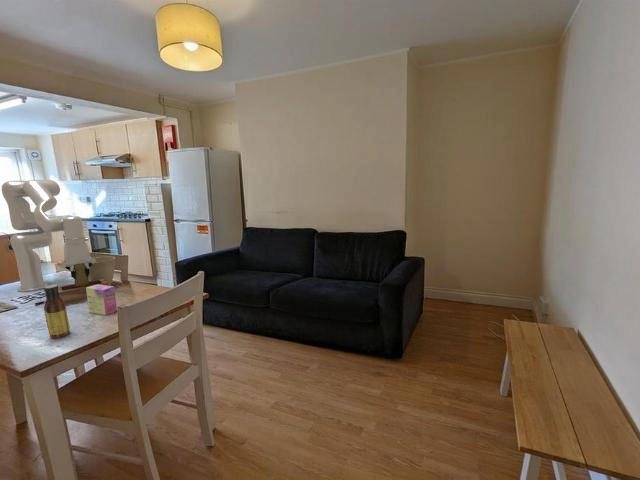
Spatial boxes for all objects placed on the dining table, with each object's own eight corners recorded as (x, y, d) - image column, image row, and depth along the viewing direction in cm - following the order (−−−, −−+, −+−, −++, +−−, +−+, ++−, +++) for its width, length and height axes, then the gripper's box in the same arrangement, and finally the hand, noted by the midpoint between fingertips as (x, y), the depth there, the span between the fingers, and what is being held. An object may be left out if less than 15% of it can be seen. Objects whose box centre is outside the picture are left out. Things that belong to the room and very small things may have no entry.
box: (117, 310, 144) (114, 286, 142) (105, 315, 139) (102, 290, 137) (101, 308, 148) (97, 283, 146) (89, 312, 142) (85, 287, 140)
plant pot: (106, 281, 188) (103, 255, 186) (124, 284, 183) (121, 257, 180) (80, 289, 175) (76, 261, 172) (98, 292, 169) (94, 263, 167)
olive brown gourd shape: (81, 286, 156) (78, 264, 154) (71, 285, 157) (67, 264, 155) (92, 282, 162) (89, 261, 160) (82, 282, 163) (79, 261, 161)
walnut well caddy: (57, 300, 158) (55, 287, 157) (104, 290, 172) (102, 278, 171) (60, 306, 150) (58, 292, 148) (109, 296, 164) (108, 283, 162)
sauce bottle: (57, 331, 124) (49, 283, 121) (74, 331, 125) (66, 282, 121) (44, 339, 118) (35, 288, 114) (62, 339, 118) (54, 288, 115)
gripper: (94, 238, 164) (99, 272, 167) (52, 243, 152) (58, 279, 156) (97, 240, 159) (102, 275, 162) (54, 245, 147) (60, 282, 150)
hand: (80, 276), depth 159 cm, fingers closed on olive brown gourd shape, 4 cm apart
